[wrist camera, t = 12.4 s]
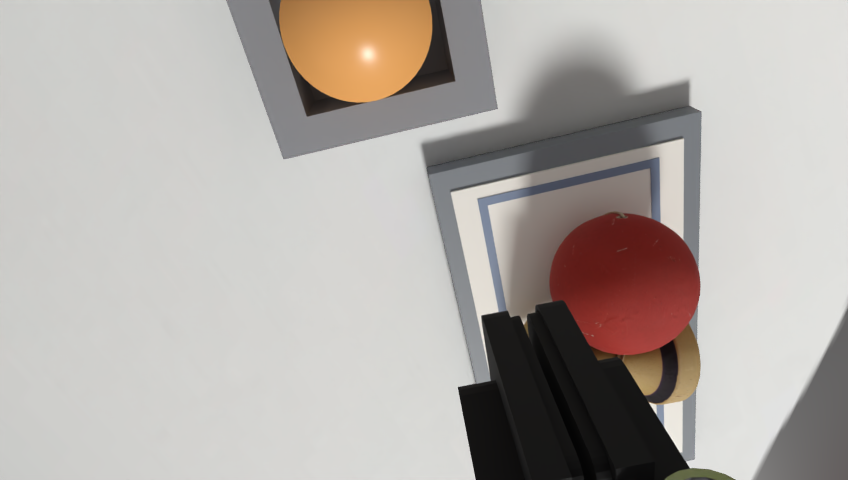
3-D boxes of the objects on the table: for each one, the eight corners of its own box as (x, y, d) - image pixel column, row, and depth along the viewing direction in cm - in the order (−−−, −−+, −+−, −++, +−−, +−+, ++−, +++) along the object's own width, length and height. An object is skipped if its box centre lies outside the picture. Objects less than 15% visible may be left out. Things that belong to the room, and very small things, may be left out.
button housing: (228, -81, 20) (193, -91, 16) (442, -136, 19) (455, -158, 16) (299, 129, 23) (283, 159, 20) (480, 86, 23) (497, 108, 19)
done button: (275, -39, 17) (256, -39, 15) (408, -73, 17) (413, -79, 15) (318, 96, 19) (307, 117, 17) (436, 67, 19) (445, 84, 17)
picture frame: (426, 167, 24) (428, 176, 23) (689, 106, 24) (703, 112, 23) (500, 485, 35) (503, 500, 34) (686, 446, 34) (695, 461, 33)
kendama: (620, 445, 34) (719, 196, 23) (641, 549, 29) (781, 289, 18) (496, 430, 34) (539, 181, 24) (495, 530, 29) (550, 266, 19)
